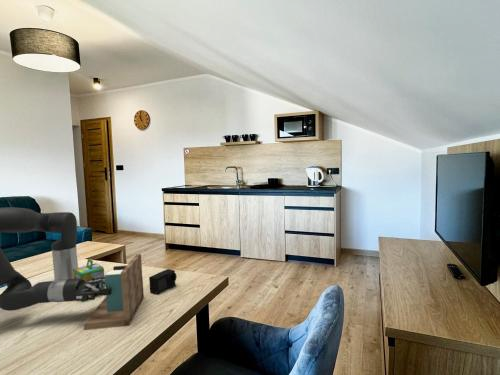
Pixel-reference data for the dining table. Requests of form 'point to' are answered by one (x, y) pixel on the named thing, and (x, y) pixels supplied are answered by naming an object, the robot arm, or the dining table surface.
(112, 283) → the teal hardcover book
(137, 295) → the walnut shelf
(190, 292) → the dining table surface
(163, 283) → the digital camera
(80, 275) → the chalk box
